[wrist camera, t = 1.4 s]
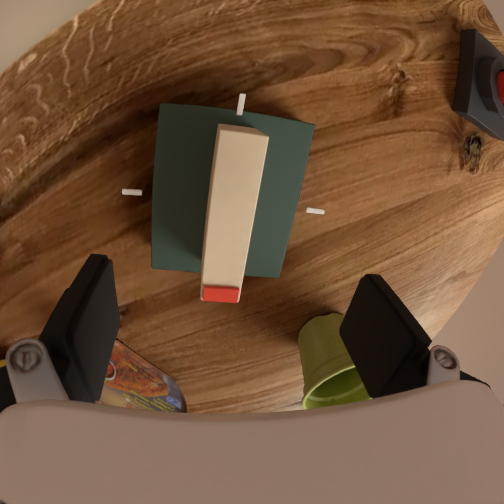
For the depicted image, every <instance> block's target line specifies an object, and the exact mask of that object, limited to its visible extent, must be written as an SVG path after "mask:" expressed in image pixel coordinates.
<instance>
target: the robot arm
mask: <svg viewBox="0 0 504 504" xmlns="http://www.w3.org/2000/svg"><path fill="white" fill-rule="evenodd" d="M119 325H120V317H119V310H118V304H117V297H116V289H115V281H114V272H113V263H112V260H110V259H108V257H107V256H106V255H101V254H91V255H90V256H89V257H88V259H87V260H86V262H85V264H84V265H83V267H82V268H81V270H80V271H79V273H78V275H77V276H76V278H75V279H74V281H73V283H72V284H71V286H70V288H67V289H66V290H65V291H64V293H63V295H62V297H61V298H60V300H59V302H58V303H57V305H56V307H55V309H54V311H53V312H52V314H51V316H50V318H49V320H48V321H47V323H46V325H45V327H44V329H43V331H42V333H41V335H40V337H39V339H35V338H24V339H20V340H18V341H16V342H15V343H14V344H13V345H12V346H10V348H9V350H8V351H7V354H6V358H5V359H6V365H5V366H2V367H0V504H504V405H503V404H502V403H501V401H500V400H499V399H498V397H497V396H496V395H495V394H494V392H493V391H492V390H491V388H490V386H489V385H488V384H487V383H485V382H482V381H480V380H478V379H476V378H474V377H472V376H470V375H468V374H466V373H464V372H462V371H460V365H459V360H458V358H457V356H456V355H455V354H454V353H453V352H452V351H451V350H450V349H448V348H446V347H444V346H440V345H436V346H434V347H432V348H431V350H430V351H429V349H428V347H429V345H430V344H431V342H432V340H431V339H430V337H429V336H428V335H427V333H426V332H425V331H424V329H423V328H422V327H421V325H420V324H419V323H418V321H417V320H416V319H415V318H414V316H413V315H412V314H411V312H410V311H409V310H408V309H407V307H406V306H405V305H404V304H403V302H402V301H401V300H400V299H399V297H398V296H397V295H396V294H395V292H394V291H393V290H392V289H391V287H390V286H389V285H388V284H387V283H386V281H385V280H384V279H383V278H382V277H381V276H380V275H378V274H366V275H365V276H364V277H363V278H361V279H360V281H359V284H358V286H357V289H356V291H355V294H354V296H353V298H352V301H351V303H350V305H349V308H348V310H347V312H346V314H345V317H344V319H343V321H342V323H341V325H340V328H339V335H340V337H341V339H342V341H343V343H344V345H345V347H346V349H347V351H348V353H349V355H350V357H351V359H352V362H353V364H354V366H355V368H356V370H357V372H358V374H359V376H360V378H361V380H362V382H363V385H364V387H365V389H366V391H367V393H368V395H369V397H371V398H372V399H369V400H364V401H359V402H354V403H348V404H342V405H335V406H329V407H321V408H313V409H305V410H295V411H284V412H270V413H248V414H198V413H178V412H164V411H152V410H142V409H133V408H125V407H117V406H110V405H103V404H96V403H95V401H99V400H100V398H101V394H102V390H103V385H104V381H105V377H106V373H107V369H108V365H109V361H110V358H111V354H112V350H113V347H114V343H115V340H116V336H117V333H118V330H119Z"/></svg>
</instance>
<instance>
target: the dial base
mask: <svg viewBox="0 0 504 504" xmlns="http://www.w3.org/2000/svg"><path fill="white" fill-rule="evenodd" d="M245 96H246V94H241V93H240V95H239V101H238V107H237V110H235V109H227V108H219V107H209V106H199V105H187V104H171V103H161V104H160V109H159V117H158V126H157V135H156V146H155V158H154V172H153V190H152V220H151V265H152V269H163V270H175V271H187V272H199V273H201V262H202V251H203V240H204V230H205V221H206V212H207V203H208V194H209V186H210V178H211V170H212V163H213V155H214V148H215V141H216V134H217V128H218V124H228V125H236V126H243V127H250V128H255V129H257V130H259V131H260V132H262V133H264V134H265V135H267V136H269V140H268V146H267V151H266V156H265V162H264V167H263V173H262V178H261V183H260V189H259V194H258V200H257V205H256V211H255V216H254V222H253V227H252V232H251V238H250V243H249V249H248V254H247V260H246V265H245V271H244V276H255V277H271V278H279V276H280V272H281V269H282V265H283V261H284V257H285V253H286V249H287V245H288V241H289V237H290V233H291V229H292V224H293V220H294V216H295V212H296V208H297V204H298V199H299V195H300V191H301V186H302V182H303V178H304V173H305V169H306V164H307V160H308V155H309V151H310V146H311V141H312V137H313V132H314V127H315V125H314V124H311V123H307V122H302V121H298V120H293V119H288V118H283V117H278V116H273V115H267V114H261V113H255V112H249V111H243V107H244V102H245ZM122 194H125V195H142V190H137V189H122ZM306 212H309V213H316V214H323V215H324V212H325V210H324V209H318V208H311V207H307V208H306Z"/></svg>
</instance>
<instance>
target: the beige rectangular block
mask: <svg viewBox="0 0 504 504" xmlns="http://www.w3.org/2000/svg"><path fill="white" fill-rule="evenodd" d="M268 140H269V136H267V135H265V134H264V133H262V132H260V131H259V130H257V129H255V128H250V127H243V126H236V125H228V124H218V128H217V134H216V141H215V148H214V155H213V163H212V170H211V178H210V186H209V194H208V203H207V212H206V221H205V230H204V240H203V251H202V262H201V289H200V299H201V300H203V301H214V302H231V303H238V302H239V298H240V293H241V287H242V282H243V276H244V271H245V265H246V260H247V254H248V249H249V243H250V238H251V232H252V227H253V222H254V216H255V211H256V205H257V200H258V194H259V189H260V183H261V178H262V173H263V167H264V162H265V156H266V151H267V146H268Z"/></svg>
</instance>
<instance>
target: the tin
mask: <svg viewBox="0 0 504 504" xmlns="http://www.w3.org/2000/svg"><path fill="white" fill-rule="evenodd" d="M95 403H96V404H103V405H110V406H117V407H125V408H133V409H142V410H152V411H164V412H178V413H187V405H186V401H185V398H184V395H183V393H182V391H181V389H180V388H179V386H178V385H177V383H176V382H175V381H174V380H173V379H172V378H171V377H170V376H169V375H167V374H166V373H164V372H163V371H161V370H160V369H158V368H157V367H155V366H154V365H152V364H151V363H149V362H148V361H146V360H145V359H143V358H142V357H140V356H139V355H138V354H136V353H135V352H134V351H132V350H131V349H130V348H128V347H127V346H126V345H124V344H123V343H121V342H119V341H117V340H115V343H114V347H113V350H112V354H111V358H110V361H109V365H108V369H107V373H106V377H105V381H104V385H103V390H102V394H101V398H100V400H99V401H95Z"/></svg>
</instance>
